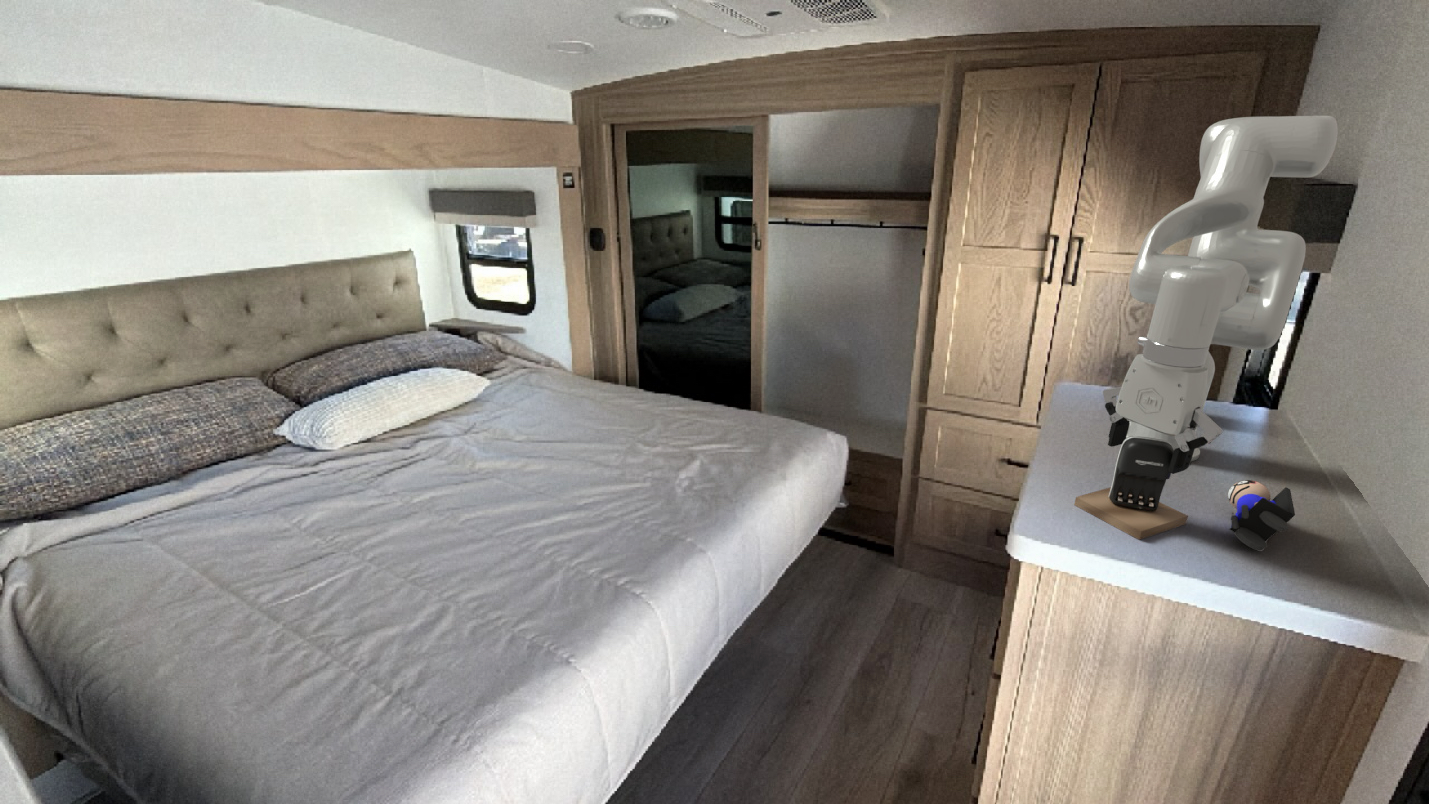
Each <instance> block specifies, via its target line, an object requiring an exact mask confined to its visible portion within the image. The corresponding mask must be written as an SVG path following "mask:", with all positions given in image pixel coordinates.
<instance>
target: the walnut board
mask: <svg viewBox="0 0 1429 804" xmlns="http://www.w3.org/2000/svg"><path fill="white" fill-rule="evenodd" d="M1110 489H1111V486H1110V487H1106V488H1103V489H1098V490H1096V491H1092V492H1089V493H1086V494H1081V495H1078V496H1076V497H1075V500H1074V504H1073V506H1075V507H1077V508H1079V509H1081V510H1083V511H1085V512H1087V513H1089V514H1090V515H1091V516H1092V515H1093V517H1096V518H1098V519H1100V520H1101V521H1104V522H1105V523H1107V524H1109V525H1111V526H1112V527H1114V528H1116V529H1118V530H1120V531H1122V532H1124V533H1126V534H1127V535H1129V536H1131V537H1132V538H1135V539H1136V540H1139V541H1140V540H1143V539H1146V538H1149V537H1152V536H1155V535H1158V534H1161V533H1164V532H1166V531H1169V530H1170V531H1171V530H1173V529H1176V528H1178V527H1181V526H1184V525H1187V521H1188V519H1189V515H1188V514H1186V513H1184V512H1181V511H1179V510H1177V509H1175V508H1172V507H1170V506H1168V505H1166V504H1164V503H1162V502H1160V501H1159V505H1158V508H1157V510H1156V511H1145V510H1139V509H1133V508H1128V507H1123V506H1119V505H1116V504H1114V503H1112V501H1111V500H1110V499H1109V497H1108V496H1109V493H1110Z"/></svg>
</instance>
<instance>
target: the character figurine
mask: <svg viewBox="0 0 1429 804" xmlns="http://www.w3.org/2000/svg"><path fill="white" fill-rule="evenodd" d="M1227 498H1228V501H1229V503H1230V505H1232V507H1233V508H1234V509H1236V512H1235V514H1233V515H1231V517H1230V520H1231V523H1230V524H1231V525H1230V526H1231V527H1230V528H1229V531H1231V532H1233V533H1234V534H1235V536H1236V537H1237V539H1238V540H1240V541H1241V542H1242V543H1243V544H1245V545H1246V546H1247V547H1249V548H1251V549H1253V550H1256V551H1261V552H1262V551H1263V550H1264V549H1265V548H1267V546H1268V545H1267V541H1268V540H1269V539H1271V537H1273V536H1274V535H1275V534H1276V533H1277V532H1281V533H1285V532H1286V531H1288V530H1289V529H1290V526H1289V524H1288V522H1289V521H1291V519H1293V518H1294V517H1295V516H1296V513H1295V507H1294V501H1293V497H1292V492H1291V489H1290V488H1289V487H1287V486H1285V487H1284V488H1283V489H1282V490H1281V491H1280V492H1279V493H1277V495H1276V496H1275V497H1274V498H1272V499H1271V492H1270V490H1269V489H1268V487H1266V485H1264V484H1263V483H1261V482H1259V481H1256V480H1252V479H1251V480H1250V479H1245V480H1244V479H1243V480H1240V481H1237V482H1236V483H1234V484H1233V485H1231V487H1229V490H1228V493H1227Z"/></svg>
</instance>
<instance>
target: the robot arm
mask: <svg viewBox="0 0 1429 804" xmlns="http://www.w3.org/2000/svg"><path fill="white" fill-rule="evenodd" d="M1338 130H1339V129H1338V122H1337V119H1336V118H1335V117H1334V116H1332V115H1294V116H1293V115H1289V116H1287V115H1286V116H1245V117H1234V118H1228V119H1223V120H1219V121H1217V122H1215V123H1213V124H1211V125H1209V127H1207V129H1206V130H1205V131H1204V133H1203V136H1202V138H1201V141H1200V147H1199V158H1198V159H1199V160H1198V161H1199V162H1198V163H1199V172H1200V174H1199V175H1200V180H1199V182H1198V185H1197V187H1196V189H1195V193H1194V196H1193V198H1192V199H1190V200H1189V201H1187V202H1185V203H1184V204H1182V205H1179V206H1178V207H1177V208H1174V210H1172V211H1170V212H1169V213H1168V214H1166V215H1165V216H1164V217H1163V218H1161V219H1160V220H1159V221H1157V222H1156V223H1155V225H1154V226H1153V227H1152V228H1151V229H1150V230H1149V231H1148V233H1147V234H1146V236H1145V237H1144V240H1143V242H1142V243H1141V247H1140V249H1139V251H1138V254H1137V257H1136V259H1135V261H1134V265H1133V267H1132V270H1131V273H1130V277H1129V280H1128V281H1129V282H1128V290H1129V291H1128V292H1129V293H1130V294H1129V295H1131V297H1132V298H1133V299H1134V300H1136V301H1138V302H1140V303H1145V304H1151V305H1154V309H1153V312H1152V317H1151V321H1150V325H1149V328H1148V332H1147V335H1146V336H1143V335H1142V336H1140V337H1139V338H1138V339H1137V344H1138V345H1140V346H1142V347H1143V348H1142V351H1141V352H1142V353H1139V354H1136V356H1135V357H1134V359H1133V360H1132V362H1131V364H1130V367H1129V368H1128V370H1127V372H1126V375H1125V377H1124V380H1123V382H1122V385H1121V386H1119V387H1112V388H1107V389H1104V390H1102V395H1103V399H1104V403H1105V404H1104V408H1105V410H1106V412H1107V413H1108V415H1109V417H1108V420H1109V422H1111V424H1110V429H1109V433H1108V443H1107V446H1109V447H1110V448H1114V447H1117V446H1120V445H1122V443H1123V441H1124V440H1125V439H1126V438H1128V437H1130V436H1139V437H1148V438H1154V439H1160V440H1164V441H1167V442H1169V443H1170V444H1171V445H1172V447H1173V450H1174V452H1173V456H1172V459H1171V462H1170V466H1169V469H1168V471H1169V473H1171V475H1175V474H1177V473H1181V472H1183V471H1186V470H1187V469H1189V467H1190V466H1191V462H1194V461H1196V460H1197V459H1198V458H1199V457H1200V454H1201V450H1200V447H1201V448H1202V447H1204V446H1207V445H1209V444H1211V443H1212V442H1213V441H1215V439H1217V438H1218V437H1219V436H1221V435H1222V434H1223V432H1224V431H1223V429H1222V428H1221V427H1220V426H1219V425H1218V424H1217V423H1216V422H1215V421H1213V419H1212V418H1210V416H1209V415H1207V414H1206V413H1205V412H1204V408H1205V404H1206V401H1207V398H1208V394H1209V391H1210V388H1211V385H1212V382H1213V379H1214V377H1215V376H1214V375H1215V371H1216V366H1215V364H1216V363H1215V361H1214V358H1213V356H1212V354H1211V353H1210V351H1209V350H1210V346H1211V345H1217V346H1225V347H1226V346H1227V347H1232V348H1239V349H1246V350H1251V351H1252V350H1255V351H1263V350H1267V349H1270V348H1272V347H1273V346H1274V345H1275V344H1276V343H1277V342H1278V340H1280V339H1279V338H1280V337H1281V334H1282V332H1283V330H1284V327H1285V324H1286V321H1287V318H1288V315H1289V311H1290V309H1291V305H1292V302H1293V298H1294V295H1295V293H1296V289H1297V285H1298V283H1299V280H1300V276H1301V272H1302V270H1303V266H1304V262H1305V258H1306V251H1307V250H1306V249H1307V247H1306V242H1305V239H1304V237H1302V236H1301V235H1300V234H1298V233H1296V232H1292V231H1287V230H1275V229H1274V230H1273V229H1272V230H1271V229H1259V228H1258V225H1259V221H1260V218H1261V215H1262V211H1263V209H1264V204H1265V199H1264V196H1265V194H1266V189H1267V187H1268V184H1269V182H1270V178H1271V177H1272V178H1313V177H1316V176H1318V175H1320V174H1321V172H1322V171H1324V169H1325V168H1326V167H1327V166H1328V164H1329V162H1330V160H1331V159H1332V156H1333V154H1334V152H1335V149H1336V146H1337V142H1338V135H1339V133H1338ZM1190 238H1192V240H1191V243H1190V247H1189V250H1188V253H1187V255H1179V254H1178V255H1177V254H1169V253H1167V254H1165V253H1163V252H1164V251H1166V249H1168V248H1170V247H1171V246H1173V245H1175V244H1177V243H1179V242H1182V241H1185V240H1188V239H1190ZM1249 286H1251V287H1255V288H1256V289H1258V291H1259V293H1253V292H1247V291H1248V289H1249ZM1198 427H1200V428H1201V429H1202V431H1203V433H1202V434H1201V435H1200V436H1199V437H1198V436H1197V430H1198Z"/></svg>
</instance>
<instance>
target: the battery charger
mask: <svg viewBox="0 0 1429 804" xmlns="http://www.w3.org/2000/svg"><path fill="white" fill-rule="evenodd" d="M1173 452H1174V450H1173V447H1172V445H1171V444H1170V443H1169V442H1167V441H1164V440H1160V439H1154V438H1148V437H1139V436H1130V437H1128V438H1126V439H1125V440H1124V441H1123V443H1122V444H1121V446H1120V449H1119V452H1118V456H1117V459H1116V462H1115V468H1114V473H1113V478H1112V483H1111V486H1110V487H1111V489H1110V493H1109V496H1108V497H1109V499H1110V500H1111V501H1112V503H1114V504H1116V505H1119V506H1123V507H1128V508H1133V509H1139V510H1145V511H1156V510H1157V508H1158V505H1159V502H1160V500H1161V497H1162V492H1163V489H1164V487H1165V484H1166V481H1167V480H1168V479H1169V480H1170V479H1171V478H1170V477H1171V475H1172V473H1169V471H1168V469H1169V466H1170V462H1171V459H1172V456H1173Z"/></svg>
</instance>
